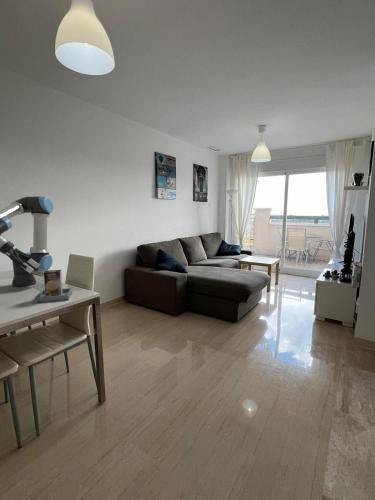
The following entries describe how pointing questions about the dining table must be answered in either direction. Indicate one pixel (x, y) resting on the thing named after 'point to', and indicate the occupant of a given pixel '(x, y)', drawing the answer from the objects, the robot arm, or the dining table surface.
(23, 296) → the dining table surface
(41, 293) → the tray
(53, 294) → the coffee box
